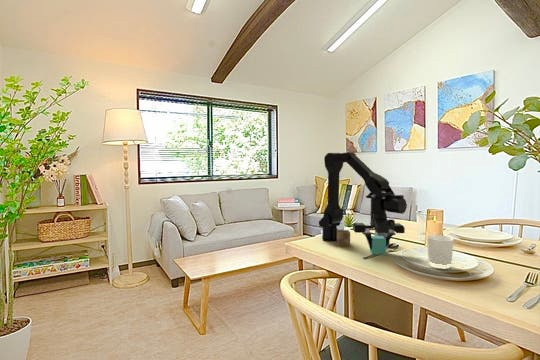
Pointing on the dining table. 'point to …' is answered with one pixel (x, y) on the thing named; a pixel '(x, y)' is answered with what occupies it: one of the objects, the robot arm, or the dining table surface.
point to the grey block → (381, 235)
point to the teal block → (378, 245)
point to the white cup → (440, 249)
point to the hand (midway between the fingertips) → (377, 249)
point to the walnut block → (343, 238)
